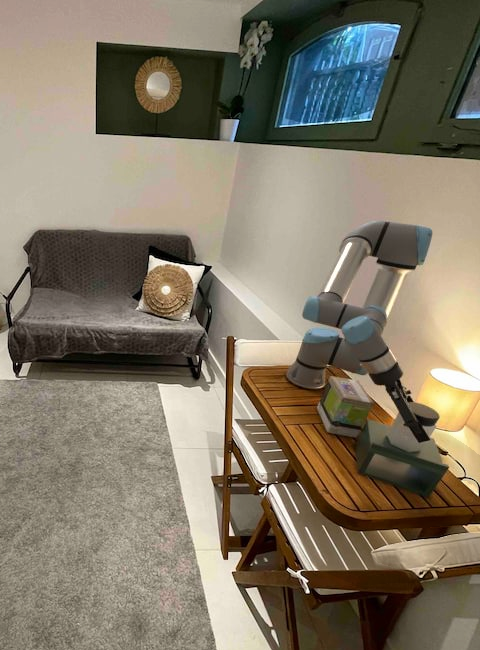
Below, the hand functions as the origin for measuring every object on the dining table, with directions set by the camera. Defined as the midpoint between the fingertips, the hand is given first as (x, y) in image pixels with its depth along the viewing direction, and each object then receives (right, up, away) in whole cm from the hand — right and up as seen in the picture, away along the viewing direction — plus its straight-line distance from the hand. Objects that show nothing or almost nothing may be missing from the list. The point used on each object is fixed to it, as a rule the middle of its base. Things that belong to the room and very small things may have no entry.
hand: (419, 427), depth 107 cm
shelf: (-3, -14, +9) cm, 17 cm away
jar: (-2, -5, +4) cm, 7 cm away
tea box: (-8, -3, +28) cm, 29 cm away
